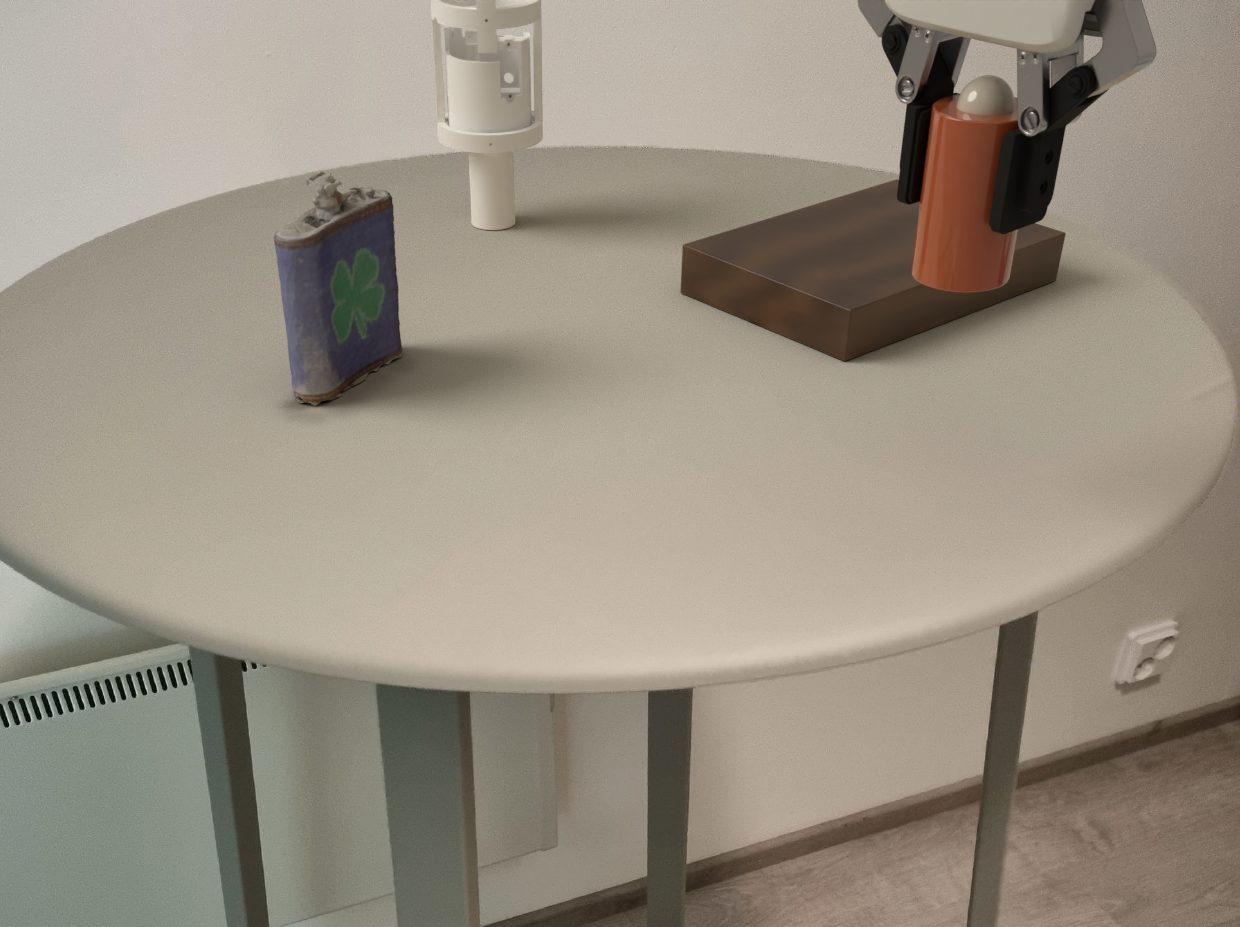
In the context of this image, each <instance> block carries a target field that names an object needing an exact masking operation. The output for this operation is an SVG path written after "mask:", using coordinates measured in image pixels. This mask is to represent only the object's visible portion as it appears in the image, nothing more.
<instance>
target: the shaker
mask: <svg viewBox="0 0 1240 927" xmlns="http://www.w3.org/2000/svg"><path fill="white" fill-rule="evenodd" d="M959 94H960V95H953V96H949V97H945V98H942V99H939V100H937V101H936V102H935V103H934V104H933V106H932V112H931V119H930V127H929V135H928V143H927V150H926V158H925V166H924V173H923V181H922V189H921V197H920V204H919V212H918V220H917V228H916V235H915V243H914V251H913V258H912V266H911V274H912V276H913V278H914V279H915V280H917V281H918V282H920V283H922V284H924V285H926V286H929V287H932V288H935V289H940V290H945V291H952V292H981V291H987V290H992V289H995V288H998V287H1001V286H1003V285H1004V284H1005V283H1007V281H1008V280H1009V277H1010V272H1011V266H1012V260H1013V255H1014V249H1015V243H1016V237H1017V232H1018V230H1015V231H1012V232H1010V233H1007V234H1000V233H997V232H994V231H992V230H991V227H990V226H989V220H990V213H991V207H992V201H993V195H994V188H995V182H996V176H997V169H998V163H999V157H1000V151H1001V144H1002V140H1003V137H1004V136H1005V133H1007V132H1010V131H1013V130H1016V129H1018V114H1017V97H1016V96H1015V95H1014V92H1013V89H1012V87H1011V86H1010V84H1009V83H1008V82H1007V81H1006V80H1004V78H1002V77H999V76H996V75H993V74H986V75H980V76H977V77H975V78H974V79H972V80H970V81H969V82H967V84H966V85H965V86H964V87H963V89H961V92H960V93H959Z"/></svg>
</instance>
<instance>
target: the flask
mask: <svg viewBox="0 0 1240 927" xmlns="http://www.w3.org/2000/svg"><path fill="white" fill-rule="evenodd" d="M320 177H321V178H320ZM318 178H320V179H318ZM315 180H316V181H315ZM310 181H312V182H314V181H315V182H314V185H315V191H314V196H313V197H312V199H311V202H312V203H313V205H314V206H315V207H313V208H311V209H309V210H307V211H305V212H304V213H302V214H300V215H298V216H296V217H295V218H293V219H292V220H291V221H289V222H287V224H285V225H282V227H280V228H279V229H277V230H276V232H275V233H274V236H273V242H274V249H275V256H276V262H277V271H278V278H279V284H280V295H281V304H282V310H283V317H284V324H285V332H286V340H287V353H288V363H289V369H290V376H291V389H292V392H293V396H294V397H295V398H294V399H295V400H296V401H297V403H300V404H302V403H303V404H304V403H308V404H311V405H313V406H317V405H319V404H320V403H321V402H324V401H325V402H326V401H332V400H334V399H337V398H339V397H341V396H342V392H344V391H346V390H348V389H350V388H352V387H353V386H354V387H355V386H356V385H358V384H360V383H363V381H365V380H366V379H367V377H368V375H369V373H371V372H378V370H379V368H380V367H382V366H384V365H390V363H391V362H392V361H393V360H396V359H399V358H401V357H402V356H403V347H402V346H403V345H402V337H401V328H400V326H401V323H400V313H399V312H400V306H399V304H400V303H399V282H398V281H399V280H398V275H397V270H398V269H397V257H396V240H395V234H396V232H395V223H394V222H395V215H394V203H393V196H392V195H391V193H390V192H389V191H387V190H384V189H379V188H376V187H372V186H358V185H353V186H352V187H351V186H350V187H349V188H348V190H346V191H343V192H340V191H338V189H337V188H338V187H340V186H342V182H341V180H337V179H336V178H335V177H334V176H333V175H332V173H328V174H326V173H325V172H324V171H323V170H319V171H316V172H315V173H312V174H310V175H309V176H308V179H307V180H305V182H304V184H305V186H309V184H310Z"/></svg>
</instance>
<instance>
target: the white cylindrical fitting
mask: <svg viewBox="0 0 1240 927" xmlns="http://www.w3.org/2000/svg"><path fill="white" fill-rule="evenodd" d="M429 3H430V20H431V37H432V56H433V72H434V74H433V76H434V90H435V92H434V93H435V108H436V109H435V110H436V125H437V129H436V130H437V140H438V142H439V143H440V144H441V145H443V146H444V147H447V148H449V149H453V150H456V151H459V152H466V153H468V172H469V175H468V176H469V193H470V214H471V215H470V220H471V226H473V227H474V228H476V229H479V230H484V231H485V230H486V231H500V230H506V229H509V228H512V227H514V226H515V225H516V202H515V198H516V197H515V163H514V162H515V161H514V160H515V158H514V157H515V156H514V152H518V151H522V150H527V149H530V148H532V147H535V146H537V145H538V144H540V143H541V142H542V141H543V140H544V139H543V138H544V123H543V122H544V117H543V116H544V113H543V46H542V45H543V38H542V37H543V34H542V31H543V30H542V25H543V24H542V0H429ZM475 6H476V7H475ZM496 6H499V7H496ZM531 24H532V48H533V50H532V54H533V58H532V59H533V110H532V88H531V87H532V83H531V82H532V80H531V33H530V32H529V31H523V36H515V35H513V34H500V33H497V30H505V29H512V28H519V27H523V26H529V25H531ZM441 25H442V26H444V27H443V28H444V30H443V31H444V32H443V33H444V34H443V35H444V62H445V81H446V99H447V100H446V101H447V111H446V107H445V104H446V103H445V88H444V69H443V67H444V66H443V65H444V64H443V50H442V48H443V47H442V31H441V30H442V29H441V28H442V27H441ZM463 29H465V30H464V35H463ZM506 74H511V76H512V77H513V80H512V82H507V81H506V80H505V75H506Z"/></svg>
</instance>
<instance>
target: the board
mask: <svg viewBox="0 0 1240 927" xmlns="http://www.w3.org/2000/svg"><path fill="white" fill-rule="evenodd" d="M898 182H899V178H898V179H893V180H889V181H887V182H882V183H880V184H877V185H873V186H871V187H866V188H864V189H863V188H862V189H860V190H857V191H854V192H850V193H847V194H844V195H840V196H836V197H834V198H831V199H827V200H824V201H821V202H817V203H815V204H814V203H813V204H812V205H808V206H805V207H802V208H797V209H795V210H792V211H788V212H785V213H782V214H779V215H775V216H772V217H769V218H765V219H762V220H759V221H756V222H752V223H749V224H746V225H742V226H739V227H736V228H733V229H729V230H726V231H722V232H719V233H716V234H713V235H710V236H706V237H703V238H700V239H696V240H694V241H693V240H692V241H690V242H687V243H684V244H682V248H681V249H682V250H681V270H680V272H681V273H680V293H681V294H683V295H685V296H688V297H689V298H692V299H695V300H697V301H700V302H702V303H704V304H706V305H709V306H712V307H713V308H716V309H719V310H721V311H723V312H726V313H728V314H730V315H733V316H734V317H737V318H740V319H742V320H745V321H747V322H750V323H752V324H755V325H757V326H760V328H761V327H762V328H764V329H767V330H769V331H771V332H773V333H776V334H778V335H780V336H783V337H785V338H788V339H790V340H792V341H795V342H797V343H800V344H802V345H804V346H807V347H809V348H811V349H814V350H816V351H819V352H821V353H824V354H826V355H828V356H831V357H833V358H836V359H838V360H841V361H843V362H846V361H849V360H852V359H854V358H855V359H856V357H859V356H862V355H865V354H868V353H871V352H872V351H875V350H878V349H881V348H883V347H886V346H888V345H892V344H894V343H896V342H899V341H901V340H904V339H907V338H910V337H912V336H914V335H917V334H920V333H922V332H924V331H925V332H926V331H927V330H930V329H932V328H936V327H938V326H941V325H943V324H946V323H949V322H951V321H954V320H956V319H959V318H961V317H964V316H967V315H970V314H973V313H975V312H977V311H980V310H982V309H985V308H988V307H990V306H992V305H995V304H997V303H1001V302H1003V301H1006V300H1008V299H1011V298H1014V297H1016V296H1017V297H1018V296H1019V295H1022V294H1024V293H1027V292H1029V291H1032V290H1035V289H1037V288H1040V287H1043V286H1045V285H1047V284H1050V283H1053V282H1056V280H1057V277H1058V273H1059V269H1060V263H1061V259H1062V254H1063V250H1064V244H1065V239H1066V236H1067V235H1066V232H1065V231H1062V230H1058V229H1055V228H1052V227H1049V226H1045V225H1042V224H1039V223H1037V222H1036V223H1034V224H1031V225H1028V226H1026V227H1023V228H1020V229H1018V232H1017V237H1016V243H1015V249H1014V255H1013V260H1012V266H1011V272H1010V277H1009V280H1008V281H1007V283H1005V284H1004V285H1003V286H1001V287H998V288H995V289H992V290H987V291H981V292H952V291H945V290H940V289H935V288H932V287H929V286H926V285H924V284H922V283H920V282H918V281H917V280H915V279H914V278H913V276H912V274H911V266H912V258H913V251H914V243H915V235H916V228H917V220H918V212H919V204H920V201H919V202H916V203H913V204H911V205H908V204H905V203H901V202H899V201H898V200H897V190H898Z"/></svg>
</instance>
